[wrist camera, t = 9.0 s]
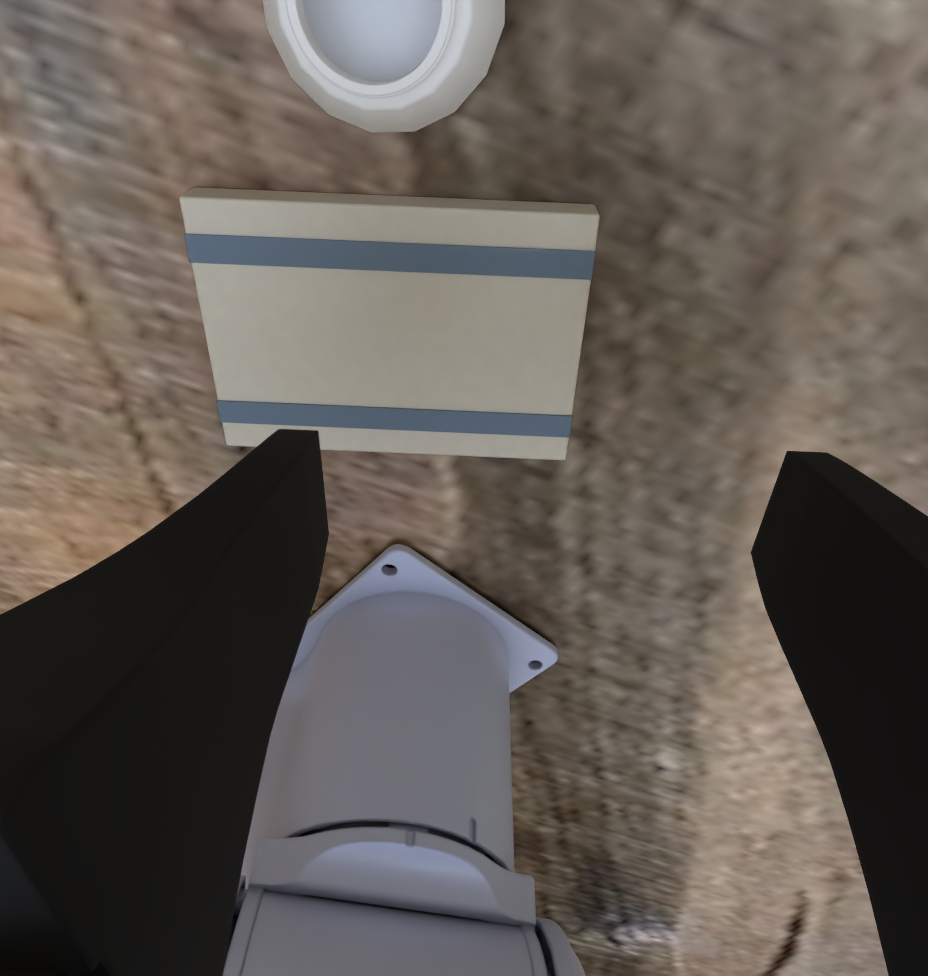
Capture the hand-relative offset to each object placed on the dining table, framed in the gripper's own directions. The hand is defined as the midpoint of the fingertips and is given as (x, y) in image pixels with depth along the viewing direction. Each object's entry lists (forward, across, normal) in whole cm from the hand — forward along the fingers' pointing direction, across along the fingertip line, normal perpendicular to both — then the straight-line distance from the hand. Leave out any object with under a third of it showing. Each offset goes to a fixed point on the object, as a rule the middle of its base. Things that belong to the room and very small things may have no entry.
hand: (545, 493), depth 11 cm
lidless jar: (+10, +3, -6) cm, 12 cm away
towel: (+9, +3, +1) cm, 10 cm away
